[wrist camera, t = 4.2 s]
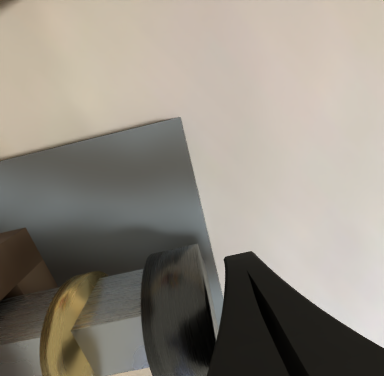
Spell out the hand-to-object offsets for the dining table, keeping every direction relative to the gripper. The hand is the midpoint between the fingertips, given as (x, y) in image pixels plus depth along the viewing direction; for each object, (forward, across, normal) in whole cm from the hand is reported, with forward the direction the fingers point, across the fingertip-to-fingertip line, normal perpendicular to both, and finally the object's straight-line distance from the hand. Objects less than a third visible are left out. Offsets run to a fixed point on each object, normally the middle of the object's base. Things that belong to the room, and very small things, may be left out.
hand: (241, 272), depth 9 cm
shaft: (+1, +11, 0) cm, 11 cm away
